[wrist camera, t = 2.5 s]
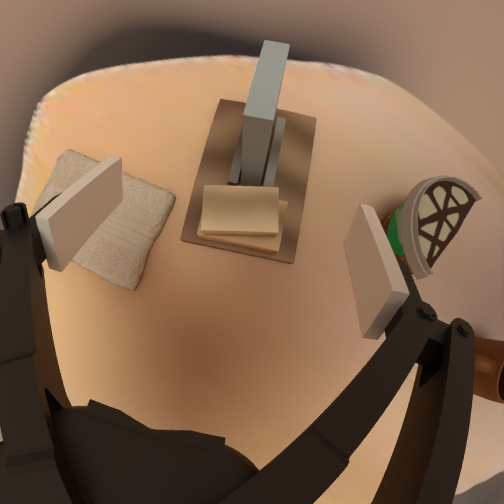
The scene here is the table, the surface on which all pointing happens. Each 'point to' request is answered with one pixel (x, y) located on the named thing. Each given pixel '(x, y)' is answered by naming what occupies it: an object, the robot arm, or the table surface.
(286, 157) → the brown rectangular board
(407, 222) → the food container
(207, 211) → the offcut stack
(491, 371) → the mug
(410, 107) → the table surface
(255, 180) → the tall panel
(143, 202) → the washcloth
